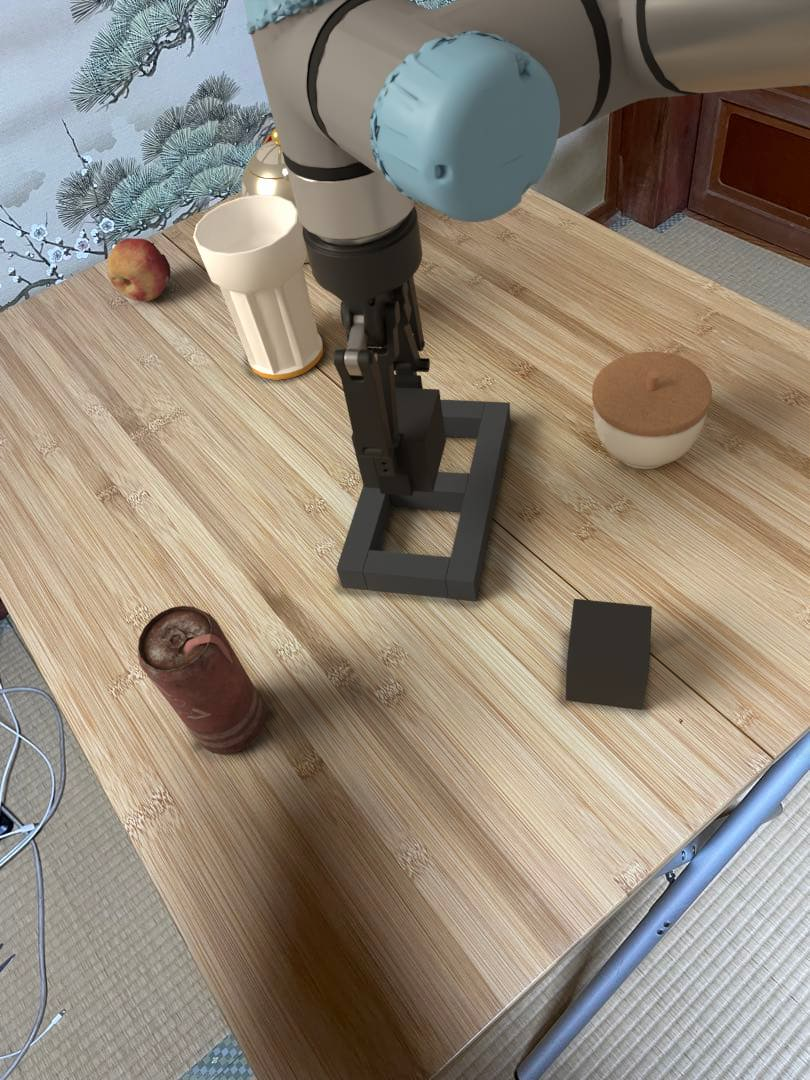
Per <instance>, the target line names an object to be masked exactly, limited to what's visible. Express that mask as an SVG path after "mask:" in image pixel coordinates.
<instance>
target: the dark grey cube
mask: <svg viewBox="0 0 810 1080" xmlns="http://www.w3.org/2000/svg"><path fill="white" fill-rule="evenodd" d="M395 392H396V405H397V418H398V431H399V433H403V434H404V438H405V444H406V450H407V455H408V460H409V466H410V471H411V476H412V482H413V487H414V491H419V492H432V493H433V491H434V487H435V483H436V479H437V475H438V472H440V471H439V470H440V468H441V462H442V458H443V454H444V451H445V447H446V443H447V439H446V438H447V437H445V430H444V422H443V414H442V406H441V400H442V399H441V392H440V388H439V389H438V388H423V389H418V388H397V387H395ZM350 438H351V442H352V446H353V450H354V455H355V457H356V461H357V465H358V469H359V473H360V478H361V481H362V486H363V485H364V487H366V488H379V484H378V480H377V475H376V471H375V467H374V463H373V459H372V457H359V456H358V454H357V450H356V445H355V440H354V436H353V433H352V434H351V437H350ZM379 489H380V488H379Z"/></svg>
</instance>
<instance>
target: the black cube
mask: <svg viewBox="0 0 810 1080" xmlns="http://www.w3.org/2000/svg"><path fill="white" fill-rule="evenodd" d="M572 601H573V602H572V609H571V610H572V612H571V619H570V630H569V638H568V646H567V655H566V656H567V657H566V667H565V669H566V670H565V671H566V672H565V701H566V702H574V703H582V704H589V705H599V706H606V707H613V708H614V707H615V708H620V709H621V708H622V709H630V710H636V711H637V710H638V711H642V710H643V709H644V708H643V707H644V702H645V697H646V691H647V685H648V680H649V675H650V661H651V659H650V658H651V657H650V656H651V654H650V653H651V637H652V634H651V633H652V615H653V606H651V605H643V604H632V603H622V602H611V601H601V600H591V599H582V598H574V599H573V600H572Z"/></svg>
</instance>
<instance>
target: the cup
mask: <svg viewBox="0 0 810 1080" xmlns="http://www.w3.org/2000/svg"><path fill="white" fill-rule="evenodd" d="M192 236H193V237H192V239H193V241H194V243H195V246H196V248H197V250H198V252H199V256H200V257H201V260H202V263H203V265H204V267H205V270H206V272H207V274H208V276H209V279H210V281H211V282H212V283H213V284H215V285H217V286H218V287H219V289H220V291H221V294H222V297H223V300H224V302H225V305H226V307H227V309H228V312H229V314H230V317H231V319H232V322H233V324H234V327H235V330H236V332H237V335H238V337H239V339H240V342H241V344H242V346H243V347H242V348H243V349H244V353H245V354H246V357H247V361H248V364H249V366H250V369H251V370H252V372H253V373H254V374H256V375H258V376H259V377H262V378H265V379H268V380H275V381H279V380H287V379H293V378H295V377H298V376H301V375H304V374H306V373H307V372H308V371H310V370H311V369H312V368H313V367H315V366H316V365H317V364H318V362H320V360H321V358H322V357H323V355H324V343H323V339H322V337H321V335H320V334H319V332H318V329H317V324H316V319H315V315H314V311H313V306H312V303H311V298H310V294H309V289H308V286H307V281H306V276H305V272H304V267H303V265H304V264H305V263H304V261H305V259H306V246H305V242H304V238H303V228H302V224H301V222H300V219H299V215H298V211H297V208H296V207H295V205H294V204H293V202H291V201H289V200H286V199H284V198H282V197H280V196H273V195H262V194H260V195H253V196H246V197H238V198H235V199H232V200H229V201H226V202H222V203H221V204H219V205H218V206H216V207H214V208H213V209H211V210H209V211H208V212H206V213H205V214H204V216H202V217H201V219H200V220H199V221H198V222H197V223H196V225H195V228H194V232H193V235H192Z"/></svg>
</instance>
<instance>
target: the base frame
mask: <svg viewBox="0 0 810 1080" xmlns="http://www.w3.org/2000/svg"><path fill="white" fill-rule="evenodd" d="M441 406H442V414H443V422H444V430H445V437H446V438H461V439H462V438H464V439H476V442H475V447H474V452H473V456H472V460H471V465H470V469H469V473H466V472H465V473H464V472H453V471H451V472H450V471H438V475H437V479H436V483H435V487H434V491H433V493H432V492H419V491H413V495H412V496H405V495H392V494H381V492H380V489H379V488H366V487H364V485H363V484H362V488H361V491H360V494H359V497H358V499H357V503H356V507H355V510H354V513H353V516H352V519H351V522H350V525H349V529H348V532H347V534H346V538H345V540H344V544H343V547H342V550H341V553H340V557H339V559H338V561H337V562H338V563H337V565H336V572H337V575H338V578H339V581H340V584H341V587H342V588H343V589H351V590H352V589H353V590H364V591H373V592H382V593H393V594H400V595H401V594H403V595H413V596H421V597H432V598H443V599H449V600H460V601H469V602H470V601H471V602H477V600H478V594H479V591H480V589H479V588H480V584H481V579H482V575H483V574H482V573H483V569H484V564H485V558H486V553H487V548H488V543H489V537H490V533H491V528H492V524H493V523H492V522H493V517H494V512H495V507H496V501H497V496H498V491H499V486H500V481H501V475H502V470H503V467H504V466H503V465H504V460H505V455H506V450H507V446H508V445H507V444H508V439H509V435H510V430H511V424H512V423H511V421H512V420H511V403H510V402H509V401H508V402H506V401H486V400H485V401H484V400H483V401H481V400H463V399H462V400H458V399H441ZM392 508H399V509H412V510H413V509H414V510H425V511H427V510H429V511H439V512H451V513H453V512H454V513H460V515H459V519H458V523H457V528H456V532H455V536H454V541H453V546H452V549H451V555H450V556H442V555H432V554H431V555H430V554H420V553H419V554H418V553H409V552H399V551H398V552H396V551H388V550H387V551H385V550H381V547H382V544H383V539H384V536H385V533H386V530H387V526H388V522H389V519H390V516H391V512H392Z"/></svg>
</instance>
